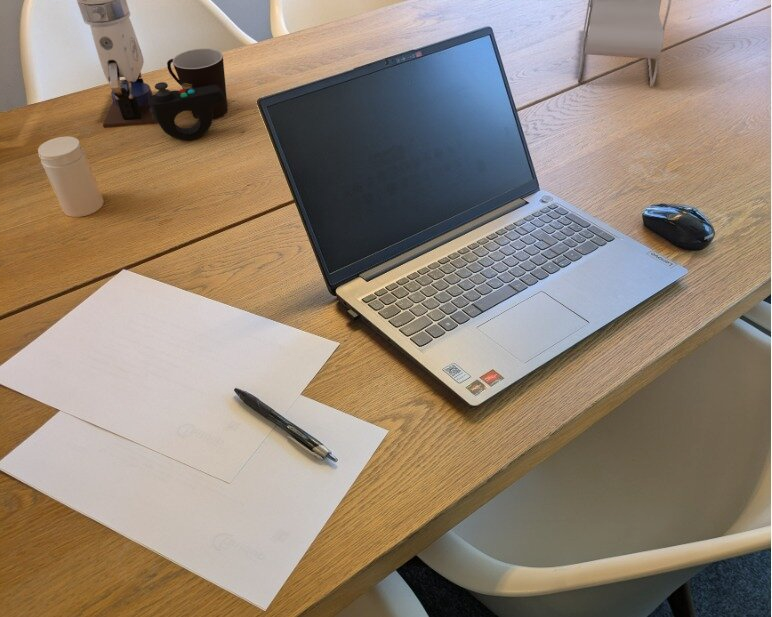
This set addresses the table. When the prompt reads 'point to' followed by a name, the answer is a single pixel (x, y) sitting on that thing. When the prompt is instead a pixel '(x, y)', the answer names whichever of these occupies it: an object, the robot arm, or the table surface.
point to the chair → (624, 30)
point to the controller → (185, 108)
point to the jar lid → (137, 93)
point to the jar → (71, 176)
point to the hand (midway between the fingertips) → (136, 108)
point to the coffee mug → (201, 73)
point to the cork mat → (116, 119)
